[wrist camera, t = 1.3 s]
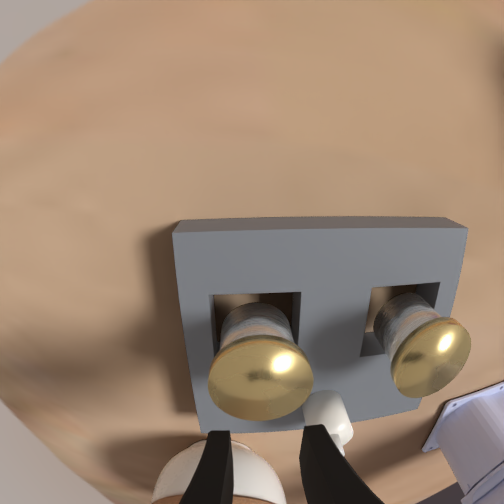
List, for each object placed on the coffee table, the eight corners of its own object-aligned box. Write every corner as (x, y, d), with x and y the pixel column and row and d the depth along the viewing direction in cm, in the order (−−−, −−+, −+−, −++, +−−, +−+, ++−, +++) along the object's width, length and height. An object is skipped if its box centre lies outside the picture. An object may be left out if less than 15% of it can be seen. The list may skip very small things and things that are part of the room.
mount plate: (445, 217, 18) (468, 228, 15) (405, 388, 22) (417, 408, 20) (181, 220, 17) (172, 232, 15) (203, 408, 22) (201, 433, 19)
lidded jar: (138, 453, 24) (119, 536, 15) (210, 402, 21) (202, 514, 13) (227, 493, 26) (228, 566, 18) (305, 452, 24) (323, 540, 15)
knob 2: (438, 283, 16) (481, 319, 12) (422, 346, 18) (455, 388, 14) (372, 288, 16) (408, 332, 12) (361, 355, 17) (386, 405, 13)
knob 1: (299, 293, 16) (318, 342, 12) (295, 362, 17) (308, 417, 13) (210, 296, 16) (202, 347, 12) (216, 365, 17) (212, 422, 13)
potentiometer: (344, 387, 18) (363, 439, 14) (338, 414, 19) (354, 464, 15) (303, 392, 18) (316, 446, 14) (300, 418, 19) (311, 470, 15)
